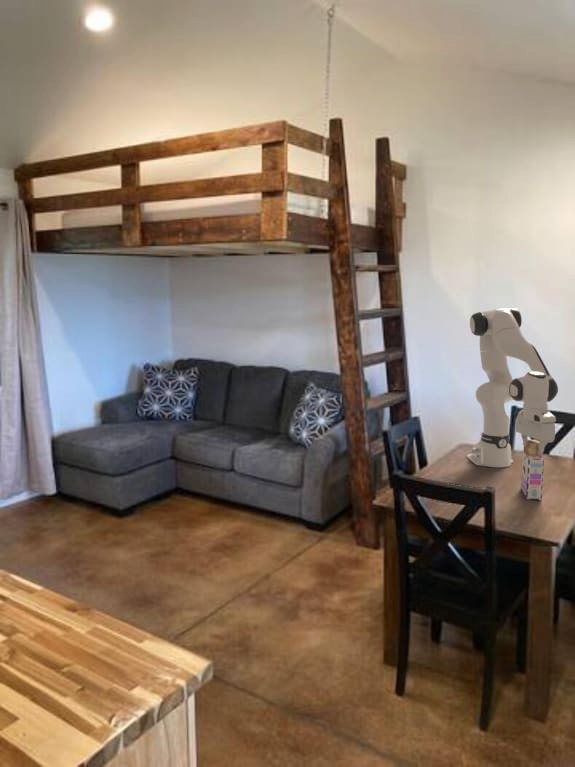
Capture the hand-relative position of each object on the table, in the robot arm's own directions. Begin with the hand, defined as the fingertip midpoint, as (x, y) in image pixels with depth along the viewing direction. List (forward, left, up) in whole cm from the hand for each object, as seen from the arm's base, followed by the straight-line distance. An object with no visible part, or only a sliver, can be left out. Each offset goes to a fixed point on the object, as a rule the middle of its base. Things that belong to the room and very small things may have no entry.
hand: (533, 448), depth 242 cm
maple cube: (0, 0, -2) cm, 2 cm away
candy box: (0, 0, -19) cm, 19 cm away
